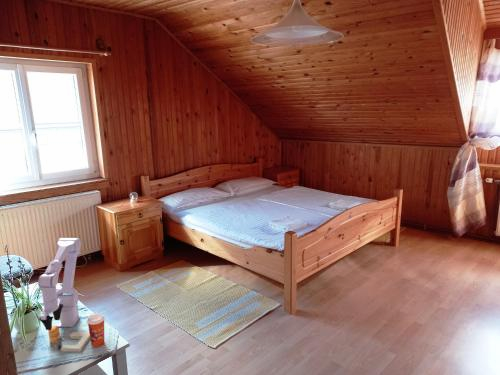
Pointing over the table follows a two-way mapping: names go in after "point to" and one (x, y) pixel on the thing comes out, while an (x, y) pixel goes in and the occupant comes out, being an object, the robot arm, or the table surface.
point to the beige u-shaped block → (80, 345)
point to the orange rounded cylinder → (54, 334)
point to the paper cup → (96, 329)
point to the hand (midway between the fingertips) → (53, 324)
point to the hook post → (59, 343)
